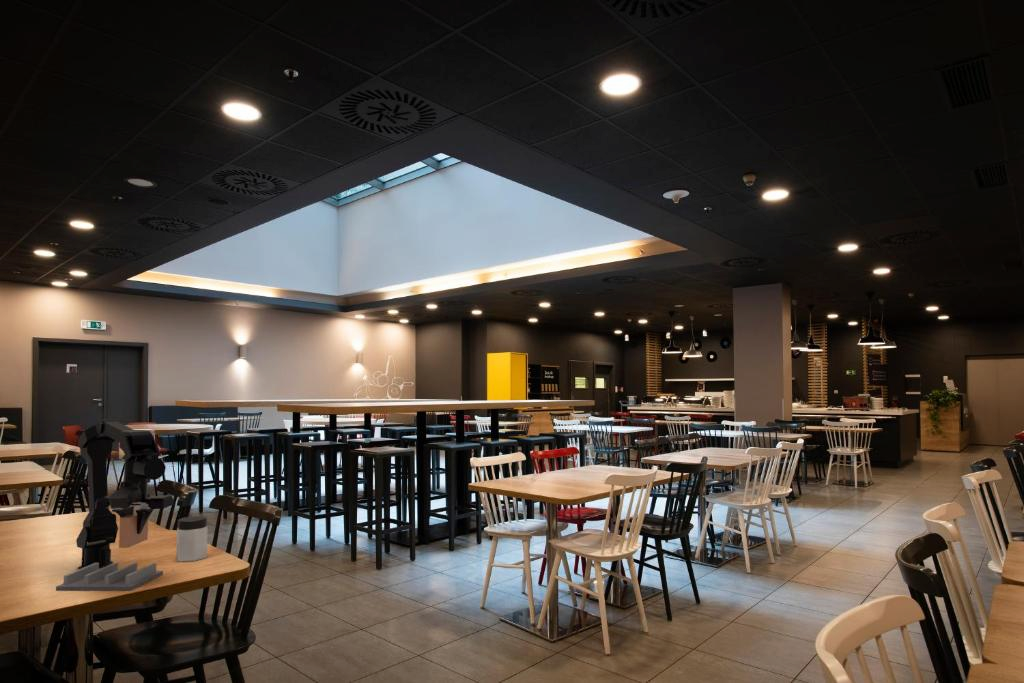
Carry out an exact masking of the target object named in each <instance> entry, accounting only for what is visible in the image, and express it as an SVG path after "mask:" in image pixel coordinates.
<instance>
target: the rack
mask: <svg viewBox="0 0 1024 683" xmlns="http://www.w3.org/2000/svg"><path fill="white" fill-rule="evenodd" d="M163 573H164V572H163V570H157V562H151V563H150V564H148V565H145V566H144V567H141V568H139V569H138V562H132V563H130V564H128V565H126V566H124V567H121V568H119V562H113V563H111V564H109V565H107V566H104V567H102V568H99V563H94V564H91V565H89V566H86V567H84V568H81V569H77V570H75V571H72V572H70V573H67V574H64V575H63V582H62V583H60V584H59V585H56V586H55V591H84V592H85V591H89V592H90V591H91V592H92V591H97V592H98V591H99V592H100V591H101V592H102V591H106V592H107V591H110V592H111V591H112V590H120V591H122V592H123V591H133V590H135V589H137V588H139V587H141V586H143V585H145V584H147V583H149V582H151V581H153V580H155V579H157V578H159V577H160V576H162V575H163Z"/></svg>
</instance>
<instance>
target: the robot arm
mask: <svg viewBox="0 0 1024 683" xmlns="http://www.w3.org/2000/svg"><path fill="white" fill-rule="evenodd" d="M77 440H78V441H77V443H78V444H77V445H78V448H79V453H80V456H81V457H82V458H83V459H84V460H85V462H86V464H87V481H88V482H87V483H88V484H87V485H88V486H87V487H88V489H87V490H88V514H87V515H86V517H85V518H84V520H83V521H82V529H81V530H80V532H79V534H78V536H77V538H76V542H75V543H76V548H79V549H81V565H79V566H77V570H79V569H81V568H84V567H86V566H89V565H91V564H94V563H99V569H101V568H104V567H106V566H108V565H111V564H113V563H114V562H113V561H112V560H111V559H112V549H111V548H110V546H111V544H115V543H116V540H117V536H118V531H119V526H118V523H117V515H118V516H119V519H120V518H121V517H124V516H127V515H129V514H132V513H135V512H136V513H137V515H138V519H137V534H140V533H141V531H142V529H143V527H144V525H145V523H146V521H147V519H148V520H149V518H150V516H151V514H152V513H153V512H154V510H163V509H166V508H168V507H172V506H174V498H173V497H172V495H162V494H161V495H157V496H153V497H150V495H151V493H148V484H149V483H151V480H152V481H153V480H154V481H155V480H158V479H160V478H161V477H162V476H164V474H165V472H166V469H167V468H166V464H165V462H164V461H163V460H162V459H160V458H159V455H160V448H159V446H158V444H157V442H156V439H155V437H154V435H153V433H152V432H151V431H150V430H144V429H134V428H131V427H130V426H127V425H125V424H123V423H121V422H119V420H118V419H101V420H98V421H97V422H96V423H95V424H94V425H92V426H90V427H88V428H87V429H85V430H84V431H83V432H82V433H81V434H80V436H79V437H78V439H77ZM115 442H117V443H119V444H118V445H119V446H118V447H119V449H120V450H121V451H122V452H123V453H124V455H123V456H122V460H124V467H123V468H124V472H123V481H120V485H119V489H117V490H116V491H114V492H113V493H111V495H109V489H108V469H107V468H108V467H107V466H108V465H107V460H108V458H109V456H110V455H111V453H112V451H113V445H114V444H115ZM135 506H140V508H139V509H135ZM109 508H110V509H111V510H110V509H109ZM116 514H117V515H116Z"/></svg>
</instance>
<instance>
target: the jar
mask: <svg viewBox="0 0 1024 683" xmlns="http://www.w3.org/2000/svg"><path fill="white" fill-rule="evenodd" d="M176 524H177V528H176V551H175V552H176V554H175V555H176V556H175V559H176V560H177V561H178V562H181V563H182V562H184V563H185V562H196V561H199V560H203V559H206V558H207V556H208V517H207V516H205V515H203V516H201V515H195V516H185V517H182V518H179V519H178V520H177V523H176Z"/></svg>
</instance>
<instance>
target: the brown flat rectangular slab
mask: <svg viewBox="0 0 1024 683" xmlns="http://www.w3.org/2000/svg"><path fill="white" fill-rule="evenodd" d="M137 519H138V515H137V513H136V511H134V512H133V513H132V514H129V515H127V516H124V517H121V518H120V517H119V535H118V536H119V538H118V548H119V549H127V548H128V549H129V548H131V547H133V546H136V545H139V544H140V543H143V542H145V541H147V540H149V539H148V534H149V518H148V519H147V521H146V523H145V525H144V527H143V529H142V531H141V533H140V534H137Z"/></svg>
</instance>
